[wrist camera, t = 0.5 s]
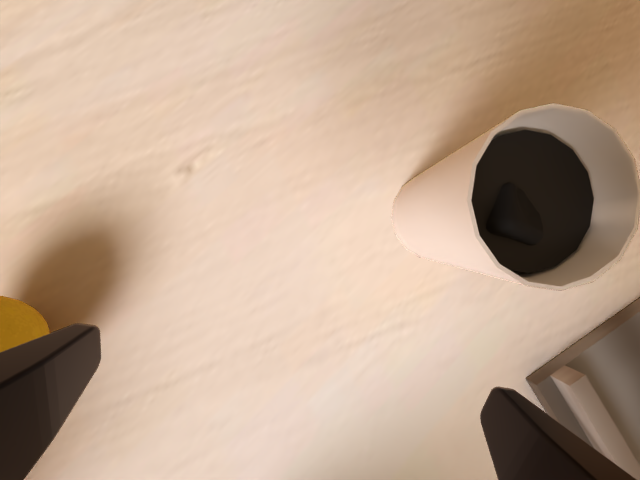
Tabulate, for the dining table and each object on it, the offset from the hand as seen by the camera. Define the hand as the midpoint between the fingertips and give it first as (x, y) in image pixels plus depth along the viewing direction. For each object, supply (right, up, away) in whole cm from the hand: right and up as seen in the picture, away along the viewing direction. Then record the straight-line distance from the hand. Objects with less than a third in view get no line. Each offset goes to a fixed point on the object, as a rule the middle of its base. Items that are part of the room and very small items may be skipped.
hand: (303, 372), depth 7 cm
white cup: (+8, +5, +14) cm, 17 cm away
